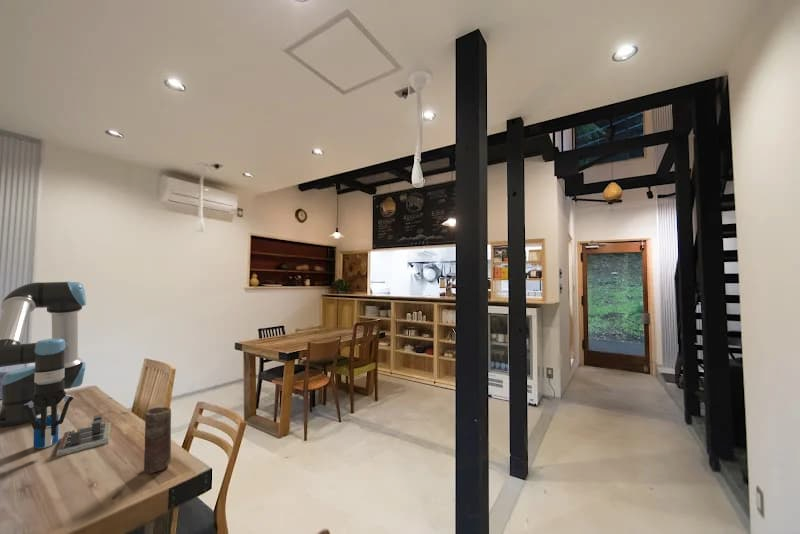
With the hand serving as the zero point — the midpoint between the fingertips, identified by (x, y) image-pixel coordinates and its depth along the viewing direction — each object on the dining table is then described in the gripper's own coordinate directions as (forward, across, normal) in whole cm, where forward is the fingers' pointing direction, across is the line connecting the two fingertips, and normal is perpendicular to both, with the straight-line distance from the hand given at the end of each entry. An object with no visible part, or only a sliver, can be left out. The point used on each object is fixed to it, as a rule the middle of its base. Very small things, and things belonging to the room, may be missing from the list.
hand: (48, 445), depth 117 cm
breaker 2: (+1, +13, +6) cm, 14 cm away
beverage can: (+4, -2, +11) cm, 12 cm away
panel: (+4, +10, +6) cm, 12 cm away
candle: (+4, +30, -36) cm, 47 cm away
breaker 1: (+1, +12, +12) cm, 17 cm away
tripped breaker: (+1, +7, 0) cm, 7 cm away
